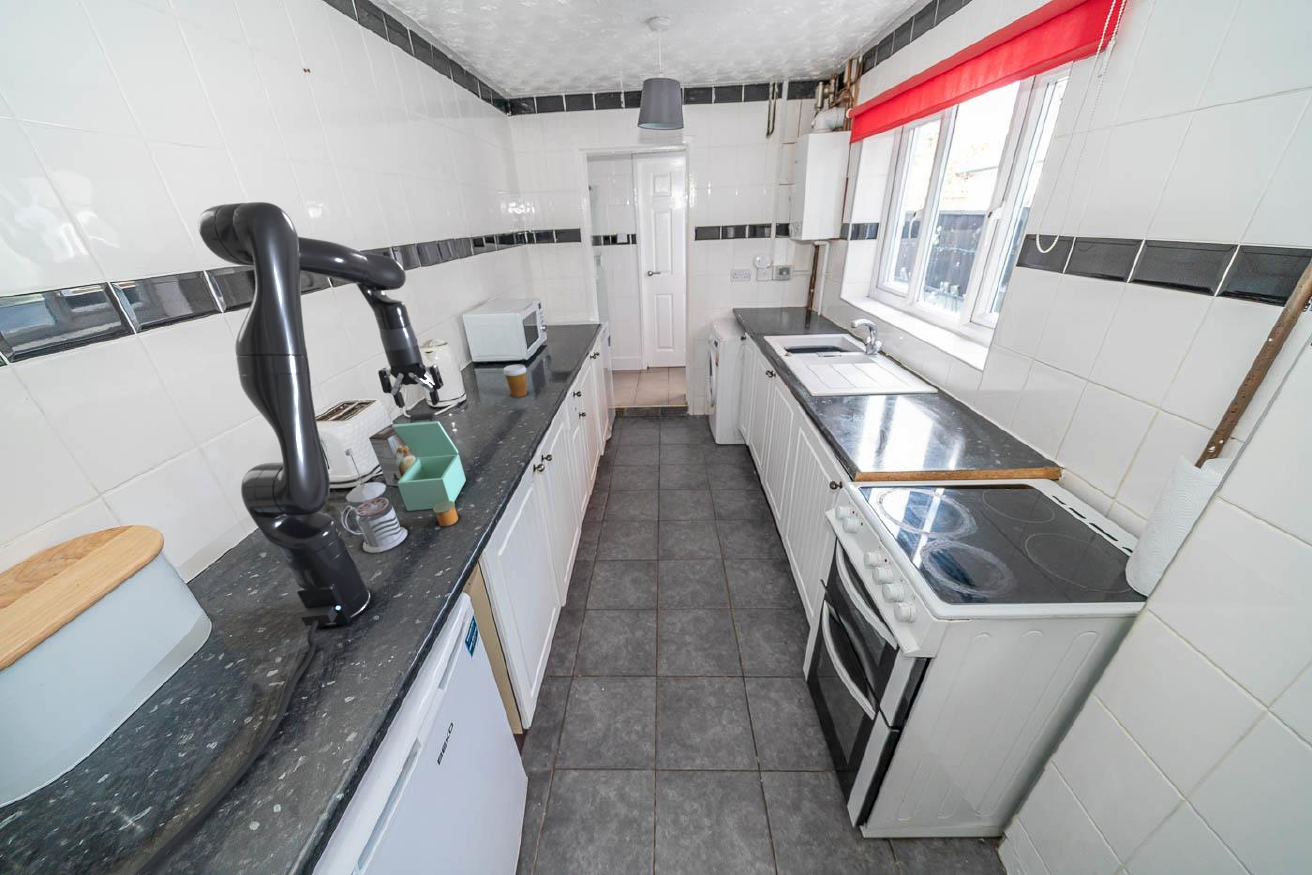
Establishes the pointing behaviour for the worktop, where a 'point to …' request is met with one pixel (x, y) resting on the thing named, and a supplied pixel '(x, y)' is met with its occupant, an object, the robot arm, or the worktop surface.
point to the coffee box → (392, 454)
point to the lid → (425, 436)
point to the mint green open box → (432, 481)
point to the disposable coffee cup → (516, 379)
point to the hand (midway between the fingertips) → (419, 405)
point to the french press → (376, 535)
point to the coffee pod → (446, 513)
